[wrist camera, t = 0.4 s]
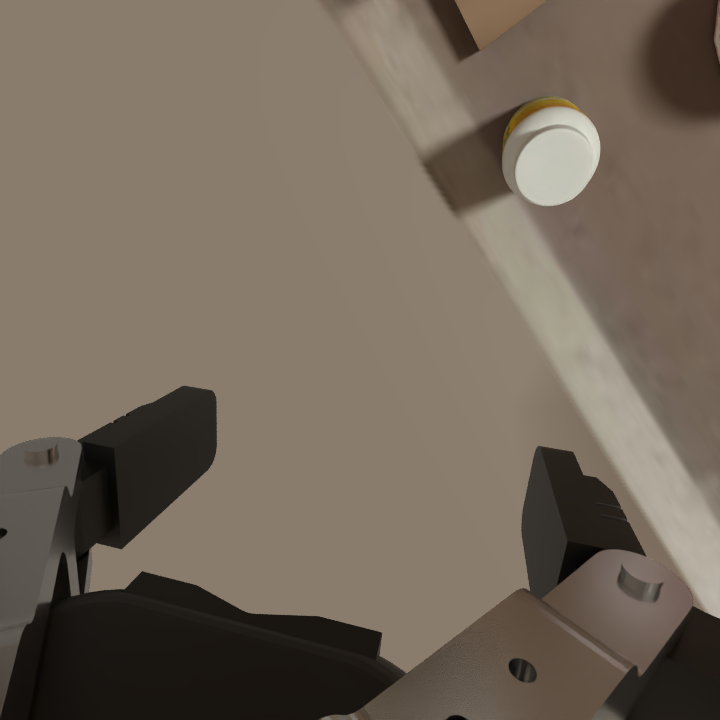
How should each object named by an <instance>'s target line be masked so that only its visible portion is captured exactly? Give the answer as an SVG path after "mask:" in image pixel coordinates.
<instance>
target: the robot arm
mask: <svg viewBox="0 0 720 720" xmlns="http://www.w3.org/2000/svg"><path fill="white" fill-rule="evenodd" d="M216 418H217V417H216V396H215V394H214V392H213V391H211V390H207V389H201V388H195V387H188V386H182V387H180V388H178V389H176V390H175V391H173V392H171V393H169V394H168V395H166V396H164V397H162V398H160V399H158V400H157V401H155V402H153V403H149V404H146V405H143V406H140V407H138V408H137V409H135V410H133V411H131V412H129V413H127V414H126V416H122V417H120V418H118V419H116V420H114V422H113V423H109V424H107V425H105V426H103V427H101V428H100V429H98V430H96V431H94V432H92V433H91V434H89V435H87V436H85V437H83V438H81V439H79V440H78V441H76V440H74V439H70V438H63V437H48V438H40V439H34V440H30V441H26V442H23V443H20V444H18V445H15V446H13V447H11V448H9V449H7V450H6V451H4V452H3V453H2V454H1V455H0V720H720V619H719V618H717V617H714V616H712V615H710V614H708V613H705V612H703V611H701V610H700V609H697V608H696V607H694V606H693V600H694V599H693V596H692V593H691V591H690V589H689V588H688V586H687V585H686V584H685V583H684V581H683V580H682V579H681V578H680V577H679V576H677V575H676V574H675V573H674V572H672V571H671V570H669V569H668V568H667V567H665V566H664V565H662V564H660V563H658V562H656V561H654V560H652V559H650V558H648V557H647V556H646V555H645V553H644V551H643V549H642V547H641V545H640V543H639V541H638V539H637V537H636V535H635V533H634V531H633V530H632V527H631V526H630V524H629V522H627V518H626V516H625V514H624V512H623V510H621V506H620V504H619V502H618V501H617V499H616V497H615V495H614V493H613V491H611V490H610V489H609V488H608V487H607V486H606V485H604V484H603V483H602V482H601V481H599V479H597V478H596V477H590V476H585V475H583V473H582V471H581V469H580V466H579V464H578V462H577V459H576V457H575V455H574V453H573V452H571V451H566V450H559V449H553V448H548V447H542V446H538V447H537V449H536V451H535V454H534V458H533V464H532V468H531V473H530V478H529V482H528V487H527V492H526V497H525V501H524V507H523V513H522V527H521V528H522V539H523V546H524V552H525V559H526V565H527V573H528V579H529V586H530V591H529V590H527V589H524V588H523V589H519V590H517V591H515V592H514V593H512V594H511V595H510V596H508V597H507V598H506V599H504V600H503V601H502V602H500V603H499V604H498V605H496V606H495V607H494V608H493V609H491V610H490V611H489V612H487V613H486V614H485V615H483V616H482V617H481V618H479V619H478V620H477V621H475V622H474V623H473V624H472V625H470V626H469V627H468V628H466V629H465V630H464V631H462V632H461V633H460V634H458V635H457V636H456V637H454V638H453V639H452V640H450V641H449V642H448V643H447V644H445V645H444V646H443V647H441V648H440V649H439V650H437V651H436V652H435V653H433V654H432V655H431V656H430V657H428V658H427V659H425V660H424V661H423V662H422V663H420V664H419V665H418V666H416V667H415V668H414V669H412V670H411V671H410V672H408V673H405V672H404V671H403V670H401V669H400V668H398V667H397V666H395V665H394V664H393V663H391V662H389V661H388V660H386V659H384V658H382V657H380V656H379V654H380V646H381V638H382V633H381V632H378V631H374V630H370V629H366V628H362V627H358V626H354V625H350V624H346V623H342V622H339V621H335V620H331V619H327V618H323V617H319V616H294V615H268V614H251V613H247V612H245V611H242V610H240V609H239V608H237V607H235V606H233V605H231V604H230V603H228V602H226V601H224V600H222V599H221V598H219V597H217V596H215V595H213V594H211V593H210V592H208V591H206V590H204V589H202V588H201V587H199V586H197V585H193V584H190V583H185V582H182V581H178V580H174V579H169V578H166V577H162V576H158V575H154V574H150V573H146V572H143V571H142V572H141V573H140V574H139V575H138V576H137V577H136V578H135V579H134V580H133V581H132V582H131V583H130V584H129V586H128V587H127V588H126V589H123V590H122V589H117V590H104V591H97V592H89V588H90V579H91V569H92V552H91V547H92V546H94V545H95V544H96V543H99V544H102V545H107V546H111V547H115V548H119V549H122V548H123V547H125V545H127V544H128V543H129V542H130V541H131V540H132V539H133V538H134V537H135V536H136V535H138V534H139V533H140V532H141V531H142V530H143V529H144V528H145V527H146V526H147V525H148V524H149V523H151V522H152V521H153V520H154V519H155V518H156V517H157V516H158V515H159V514H160V513H162V512H163V511H164V510H165V509H166V508H167V507H168V506H169V505H170V504H171V503H172V502H174V500H176V499H177V498H178V497H179V496H180V495H181V494H182V493H183V492H184V491H185V490H187V489H188V488H189V487H190V486H191V485H192V484H193V483H194V482H195V481H196V480H197V479H199V478H200V477H201V476H202V475H203V474H204V473H205V472H206V471H207V470H208V469H209V468H210V466H211V465H212V463H213V460H214V457H215V454H216V447H217V431H216V429H217V426H216V425H217V422H216Z"/></svg>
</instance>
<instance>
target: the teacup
mask: <svg viewBox="0 0 720 720" xmlns="http://www.w3.org/2000/svg"><path fill="white" fill-rule="evenodd" d="M714 43H715V47H716V52H717V56H718V60H719V64H720V0H718V6H717V15H716V23H715V32H714Z"/></svg>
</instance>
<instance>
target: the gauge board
mask: <svg viewBox="0 0 720 720" xmlns="http://www.w3.org/2000/svg"><path fill="white" fill-rule="evenodd" d="M546 1H547V0H455V2H456V4H457V6H458V8H459V10H460V12H461V14H462V16H463V18H464V20H465V22H466V24H467V26H468V28H469V30H470V32H471V34H472V36H473V38H474V40H475V42H476V44H477V46H478V48H479V50H480V51H481V50H482V49H483V48H485V47H486V46H487V45H489V44H490V43H491V42H493V41H494V40H495V39H497V38H498V37H499V36H500V35H502V34H503V33H504V32H506V31H507V30H508V29H510V28H511V27H512V26H514V25H515V24H516V23H518V22H519V21H520V20H522V19H523V18H524V17H526V16H527V15H528V14H530V13H531V12H532V11H534V10H535V9H536V8H538V7H539V6H540V5H542V4H543V3H544V2H546Z"/></svg>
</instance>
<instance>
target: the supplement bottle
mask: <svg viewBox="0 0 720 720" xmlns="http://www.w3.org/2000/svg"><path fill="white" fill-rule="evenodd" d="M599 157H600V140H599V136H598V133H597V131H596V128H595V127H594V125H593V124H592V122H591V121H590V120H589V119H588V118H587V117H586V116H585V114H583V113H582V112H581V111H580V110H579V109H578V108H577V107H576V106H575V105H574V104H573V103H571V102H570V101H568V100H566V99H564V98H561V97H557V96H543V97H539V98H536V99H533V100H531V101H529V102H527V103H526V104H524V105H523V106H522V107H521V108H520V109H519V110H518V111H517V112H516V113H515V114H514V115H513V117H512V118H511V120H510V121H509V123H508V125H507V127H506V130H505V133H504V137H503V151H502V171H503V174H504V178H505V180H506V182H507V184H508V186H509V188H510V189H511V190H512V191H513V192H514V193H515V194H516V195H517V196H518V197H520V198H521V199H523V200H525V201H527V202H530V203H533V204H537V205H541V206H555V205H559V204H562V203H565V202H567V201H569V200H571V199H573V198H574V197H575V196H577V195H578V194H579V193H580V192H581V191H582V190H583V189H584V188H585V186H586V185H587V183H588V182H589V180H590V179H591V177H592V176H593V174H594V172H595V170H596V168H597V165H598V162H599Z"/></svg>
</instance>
